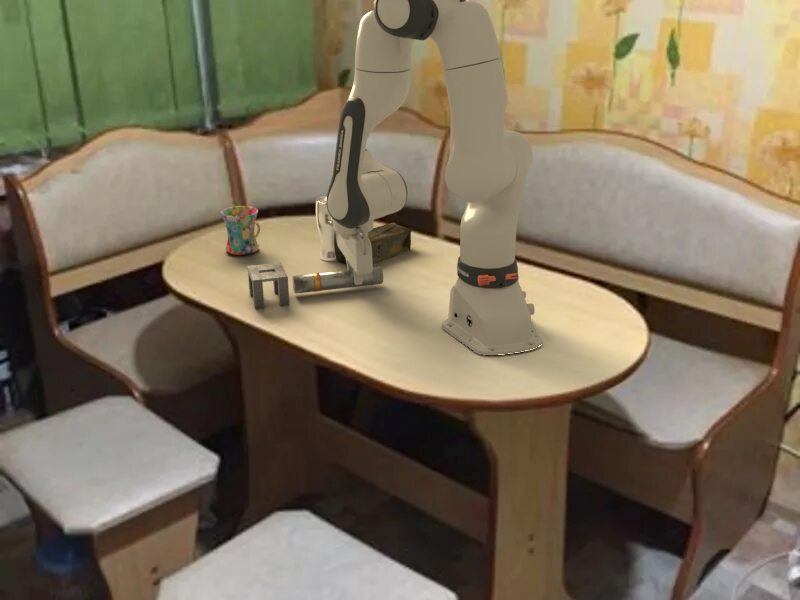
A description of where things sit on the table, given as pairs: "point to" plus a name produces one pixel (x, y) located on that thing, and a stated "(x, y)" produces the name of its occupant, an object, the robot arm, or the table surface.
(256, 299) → the gray four-legged stand
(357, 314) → the table surface
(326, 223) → the beer glass
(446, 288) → the table surface
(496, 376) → the table surface
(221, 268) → the table surface
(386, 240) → the dark wooden box
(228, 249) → the mug
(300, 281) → the tube
